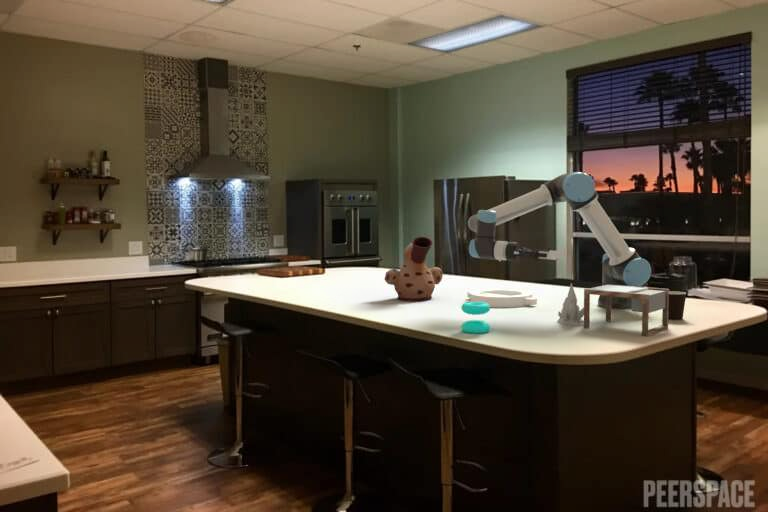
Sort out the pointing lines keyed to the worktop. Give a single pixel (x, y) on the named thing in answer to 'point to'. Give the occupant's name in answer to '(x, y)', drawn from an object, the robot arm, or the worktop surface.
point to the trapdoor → (654, 299)
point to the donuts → (475, 325)
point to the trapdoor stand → (628, 295)
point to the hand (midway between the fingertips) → (561, 255)
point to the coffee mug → (676, 305)
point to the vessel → (415, 273)
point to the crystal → (571, 310)
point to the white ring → (502, 297)
